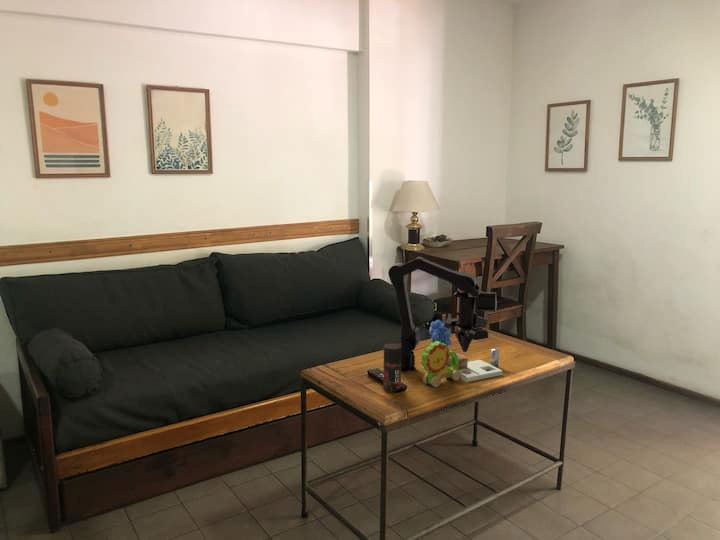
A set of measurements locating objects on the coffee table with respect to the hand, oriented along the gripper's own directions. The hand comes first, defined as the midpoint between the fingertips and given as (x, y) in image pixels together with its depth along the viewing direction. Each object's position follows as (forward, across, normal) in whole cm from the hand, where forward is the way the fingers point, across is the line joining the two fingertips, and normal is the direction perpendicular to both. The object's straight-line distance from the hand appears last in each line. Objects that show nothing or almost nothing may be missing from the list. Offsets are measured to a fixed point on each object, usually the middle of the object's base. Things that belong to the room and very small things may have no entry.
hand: (464, 351), depth 209 cm
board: (+9, +1, -5) cm, 10 cm away
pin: (+9, +2, -15) cm, 18 cm away
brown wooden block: (+7, +5, 0) cm, 8 cm away
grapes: (+9, +29, -8) cm, 31 cm away
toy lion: (+9, -2, +12) cm, 15 cm away
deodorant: (+9, +1, +30) cm, 31 cm away
